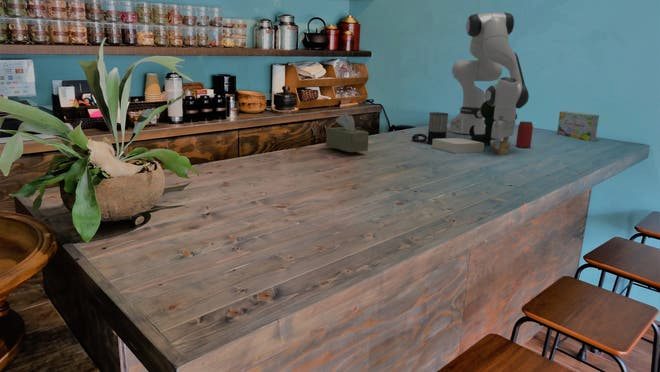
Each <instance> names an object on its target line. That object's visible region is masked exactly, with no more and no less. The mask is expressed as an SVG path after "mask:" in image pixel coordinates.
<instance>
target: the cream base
mask: <svg viewBox="0 0 660 372" xmlns="http://www.w3.org/2000/svg"><path fill="white" fill-rule="evenodd" d="M431 148H432V149H437V150H440V151H444V152H448V153H452V154H467V153H469V154H470V153H484V151H485V150H484V149H485V146H484V143H482V142H477V141H473V140H471V139H468V138H462V137H455V138H454V137H451V138H450V137H449V138H448V137H446V138H444V139H433V142H432V144H431Z"/></svg>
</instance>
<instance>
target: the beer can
mask: <svg viewBox="0 0 660 372" xmlns="http://www.w3.org/2000/svg"><path fill="white" fill-rule="evenodd" d="M533 129H534V125H533V121H526V120H525V121H519V123H518V126H517V135H516V143H515V145H516V147H517V148H525V149H527V148H531V144H532V138H533V137H532V136H533Z"/></svg>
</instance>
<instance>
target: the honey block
mask: <svg viewBox="0 0 660 372" xmlns="http://www.w3.org/2000/svg"><path fill="white" fill-rule="evenodd" d="M510 145H511V142H509V141H508V142H504V141H503V140H500V148H499V149H496V148H495V140H492V148H491V153H494V154H498V155H507V154H510Z"/></svg>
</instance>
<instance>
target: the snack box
mask: <svg viewBox="0 0 660 372" xmlns="http://www.w3.org/2000/svg"><path fill="white" fill-rule="evenodd" d="M599 117H600V115H599V114H592V113H584V112H574V111H567V110H561V111H559V116H558V125H557V131H556V135H558V136H563V137H568V138H572V139H577V140H582V141H586V142H596V138H597V133H598V125H599Z"/></svg>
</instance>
